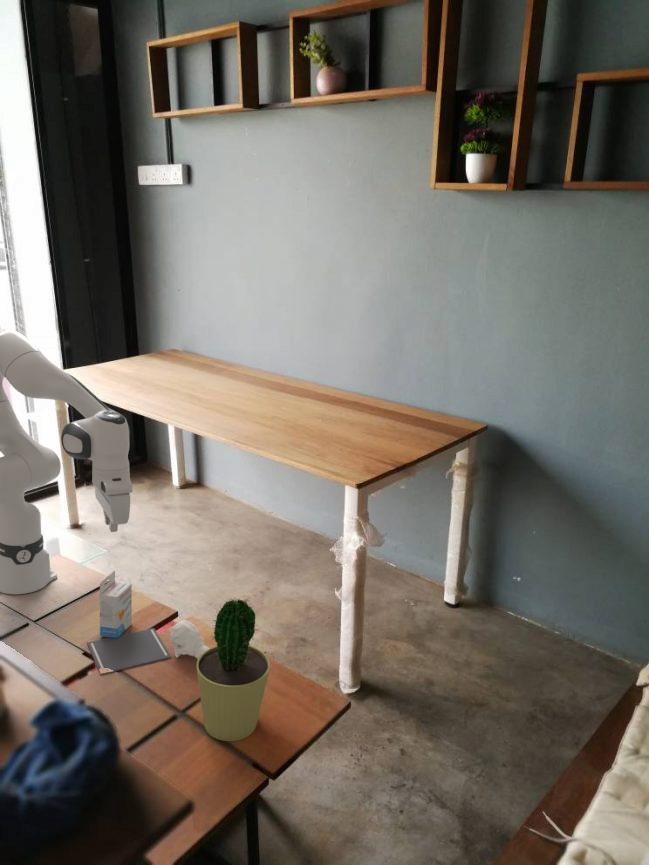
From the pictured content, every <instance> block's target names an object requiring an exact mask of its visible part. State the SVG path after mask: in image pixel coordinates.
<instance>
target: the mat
mask: <svg viewBox="0 0 649 865" xmlns="http://www.w3.org/2000/svg"><path fill="white" fill-rule="evenodd" d="M86 645H87V646H88V650H89V652H90V653H91V656H92V658H93V661H94V663H95V665H96V668H97V670H98V671H99V669H100V668H109V669H111V670H113V671H114V672H119V671H122V670H127V669H131V668H135V667H138V666H143V665H148V664H152V663H155V662H160V661H164V660H168V659H172V656H171V654H170V652H169V650H168V649H167V647H166V646H165V644H164V643H163V640H161V637H160V635H159V634H158V632H157V630H156V629H155V627H151V628H148V629H143V630H138V631H132V632H129V633H124V634H121V635H120V636H119V637H118V639H116V638H109V637H104V638H102V639H96V640H93V641H88V642H87V643H86ZM114 672H113V673H114Z"/></svg>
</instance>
